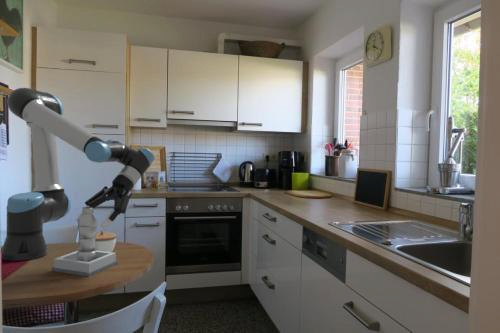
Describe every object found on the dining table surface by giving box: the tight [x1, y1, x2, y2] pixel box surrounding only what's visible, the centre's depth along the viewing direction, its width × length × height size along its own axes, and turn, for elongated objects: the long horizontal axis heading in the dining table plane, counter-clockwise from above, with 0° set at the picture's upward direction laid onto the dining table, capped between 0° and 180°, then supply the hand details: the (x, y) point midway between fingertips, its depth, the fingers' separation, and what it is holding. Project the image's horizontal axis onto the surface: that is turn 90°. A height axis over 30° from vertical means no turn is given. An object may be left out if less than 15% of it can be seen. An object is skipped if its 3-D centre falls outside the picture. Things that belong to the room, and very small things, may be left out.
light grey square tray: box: [51, 250, 119, 277], centre depth 124 cm, size 15×15×4 cm
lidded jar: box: [95, 230, 117, 252], centre depth 139 cm, size 11×11×9 cm
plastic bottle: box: [77, 206, 99, 262], centre depth 124 cm, size 6×7×20 cm
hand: (90, 224), depth 124 cm, fingers open, 13 cm apart
